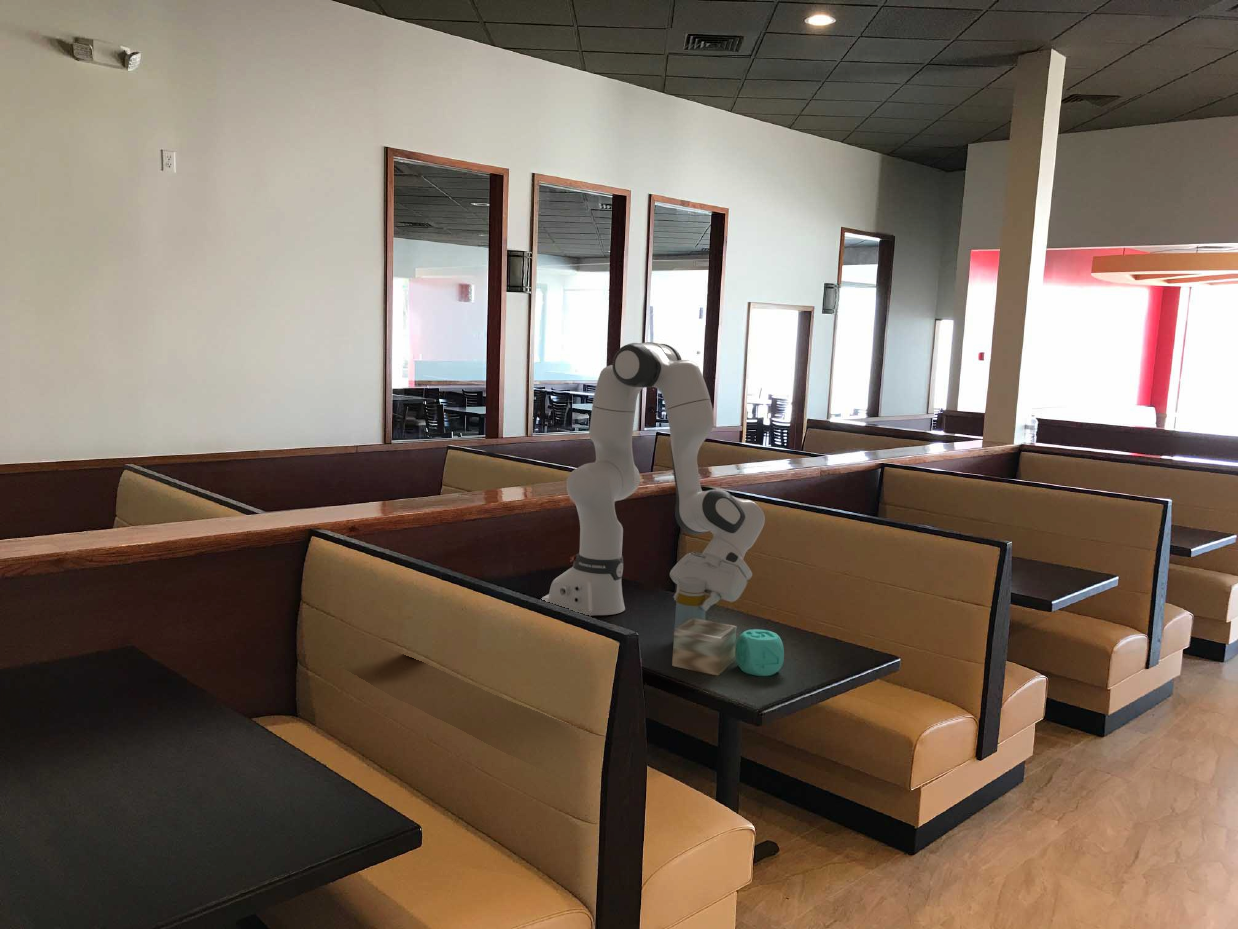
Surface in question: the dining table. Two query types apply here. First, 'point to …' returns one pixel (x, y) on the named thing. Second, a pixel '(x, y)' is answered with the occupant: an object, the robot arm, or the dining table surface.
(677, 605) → the bottle
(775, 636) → the decorative dice
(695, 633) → the open square box
